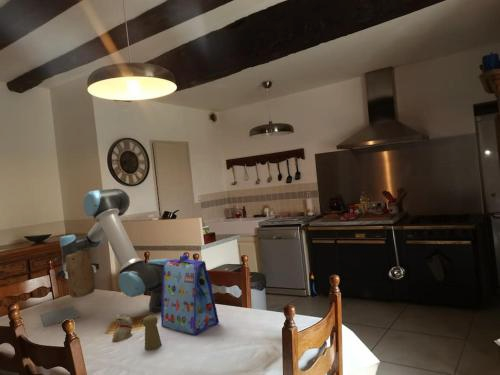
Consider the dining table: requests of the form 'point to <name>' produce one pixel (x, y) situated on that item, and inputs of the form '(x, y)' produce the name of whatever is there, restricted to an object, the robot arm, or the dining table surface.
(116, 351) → the dining table surface
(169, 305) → the lunch bag
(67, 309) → the mat
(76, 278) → the block
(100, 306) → the dining table surface
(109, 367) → the dining table surface
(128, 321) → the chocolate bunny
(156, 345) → the cork
